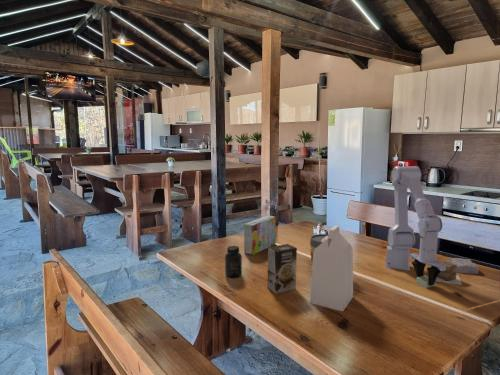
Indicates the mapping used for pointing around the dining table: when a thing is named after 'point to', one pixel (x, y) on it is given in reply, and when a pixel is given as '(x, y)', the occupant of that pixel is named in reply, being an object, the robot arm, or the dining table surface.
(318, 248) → the milk
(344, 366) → the dining table surface
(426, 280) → the pale green cube
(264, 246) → the snack box
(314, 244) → the reusable coffee cup
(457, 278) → the felt mat
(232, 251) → the supplement bottle
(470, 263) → the stone block
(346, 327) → the dining table surface
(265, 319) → the dining table surface
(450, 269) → the tower top
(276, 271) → the coffee box
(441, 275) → the tower base
